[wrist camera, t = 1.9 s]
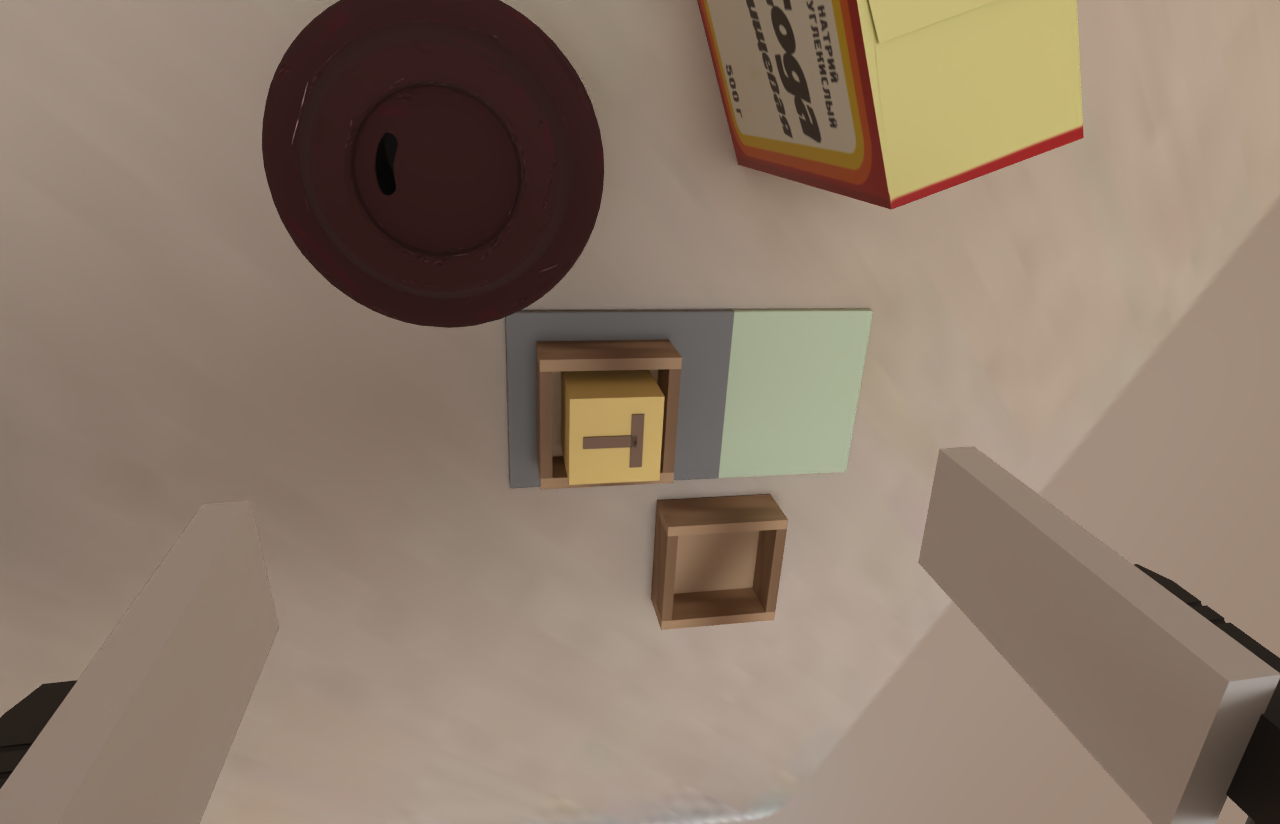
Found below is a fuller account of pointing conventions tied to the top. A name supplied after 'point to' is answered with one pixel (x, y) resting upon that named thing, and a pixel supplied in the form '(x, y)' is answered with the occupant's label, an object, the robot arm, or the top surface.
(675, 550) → the box
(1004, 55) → the baking soda box
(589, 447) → the letter cube
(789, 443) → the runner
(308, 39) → the coffee cup
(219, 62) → the top surface
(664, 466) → the box
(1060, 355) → the top surface
